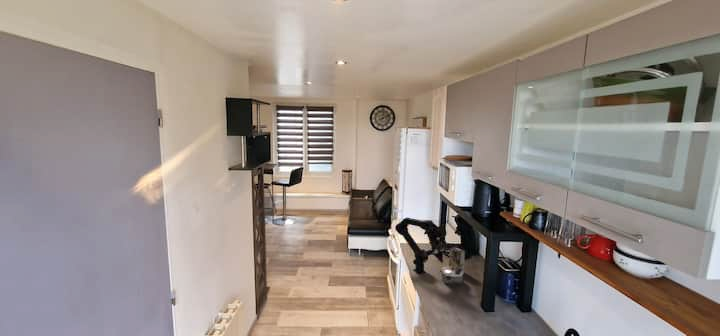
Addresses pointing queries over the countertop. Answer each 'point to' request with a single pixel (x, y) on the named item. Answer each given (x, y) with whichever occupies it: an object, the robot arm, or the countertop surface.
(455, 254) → the coffee box
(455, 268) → the cooker lid
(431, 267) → the countertop surface
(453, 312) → the countertop surface
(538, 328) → the countertop surface
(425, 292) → the countertop surface
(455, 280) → the cooker pot
